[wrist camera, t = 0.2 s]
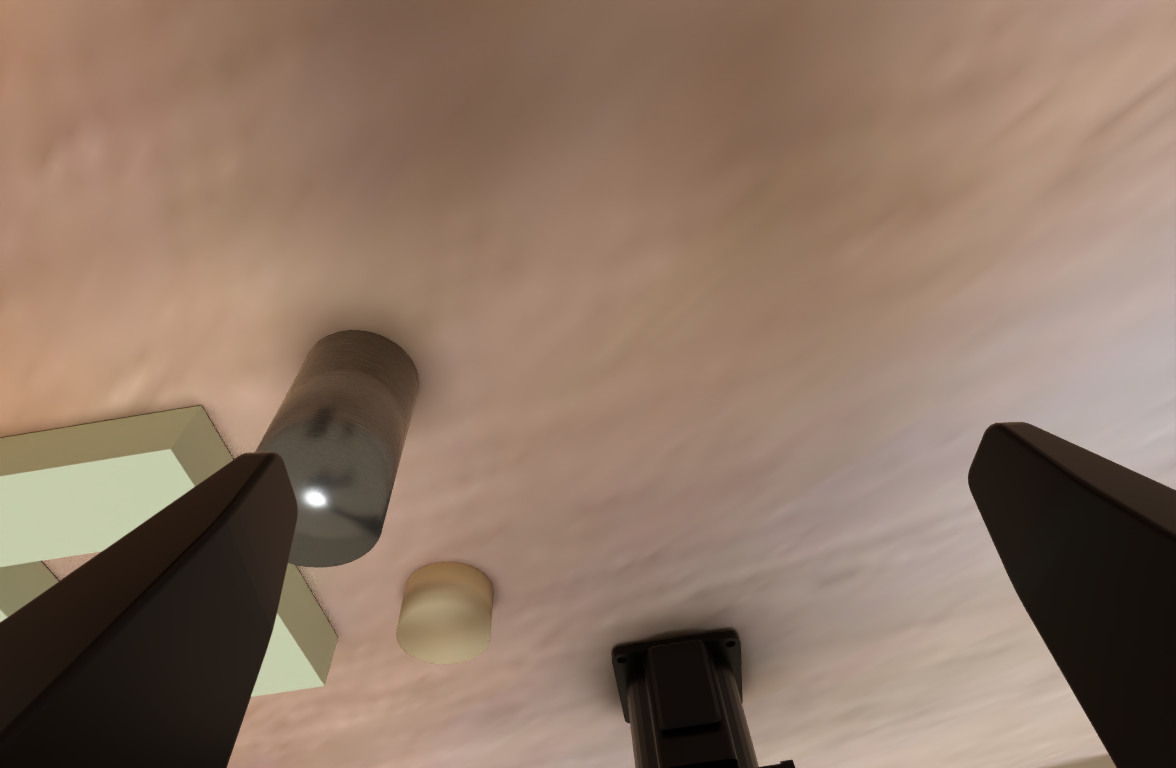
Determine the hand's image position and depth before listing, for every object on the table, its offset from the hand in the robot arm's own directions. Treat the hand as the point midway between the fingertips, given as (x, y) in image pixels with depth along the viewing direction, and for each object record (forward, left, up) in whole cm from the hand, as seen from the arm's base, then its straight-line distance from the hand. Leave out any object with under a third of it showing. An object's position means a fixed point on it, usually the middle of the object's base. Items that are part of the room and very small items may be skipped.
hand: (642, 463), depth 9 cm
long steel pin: (-6, +9, -14) cm, 18 cm away
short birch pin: (-18, +9, -14) cm, 25 cm away
